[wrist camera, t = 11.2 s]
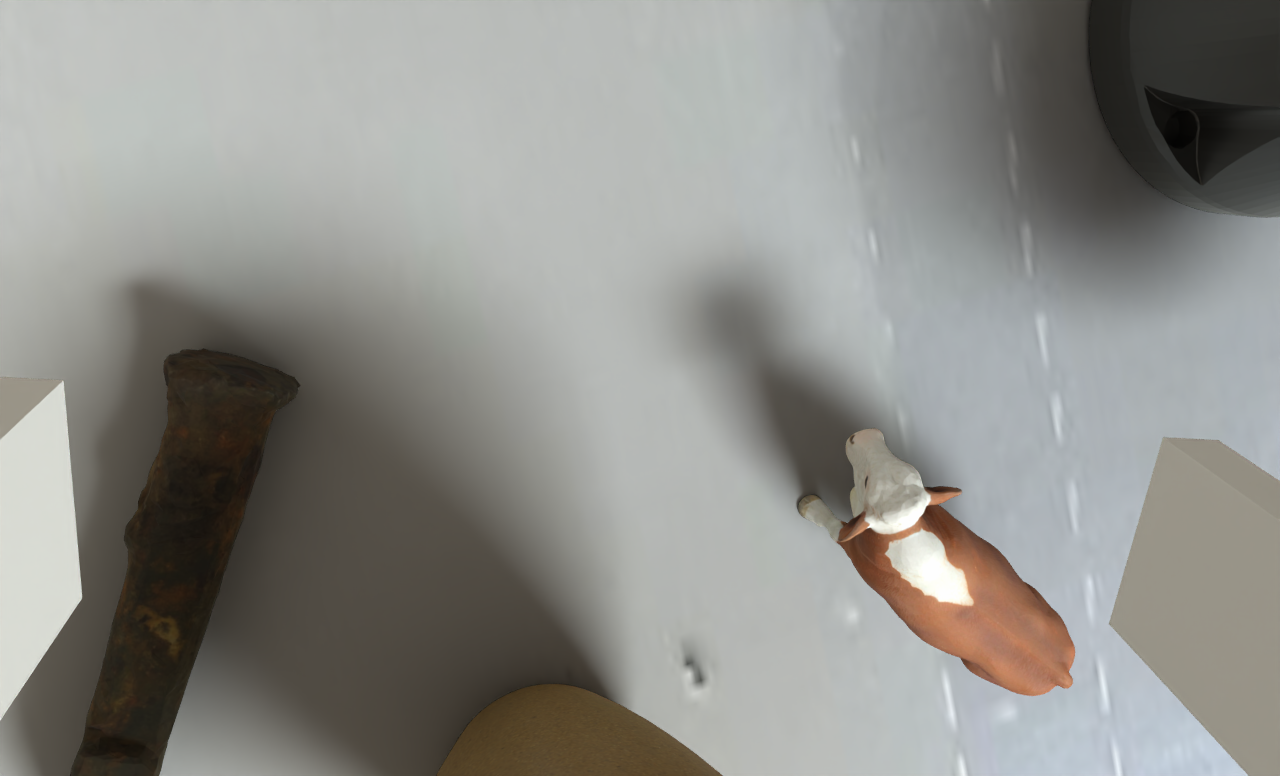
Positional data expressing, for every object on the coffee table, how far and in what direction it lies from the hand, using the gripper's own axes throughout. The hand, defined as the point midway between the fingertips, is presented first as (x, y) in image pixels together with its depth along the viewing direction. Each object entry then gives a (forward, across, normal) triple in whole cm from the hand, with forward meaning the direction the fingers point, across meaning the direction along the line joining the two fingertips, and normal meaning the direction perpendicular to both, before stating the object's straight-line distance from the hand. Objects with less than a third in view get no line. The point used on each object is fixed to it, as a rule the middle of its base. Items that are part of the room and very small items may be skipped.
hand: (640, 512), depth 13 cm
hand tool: (+23, -12, -16) cm, 31 cm away
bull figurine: (+26, +14, -14) cm, 33 cm away
